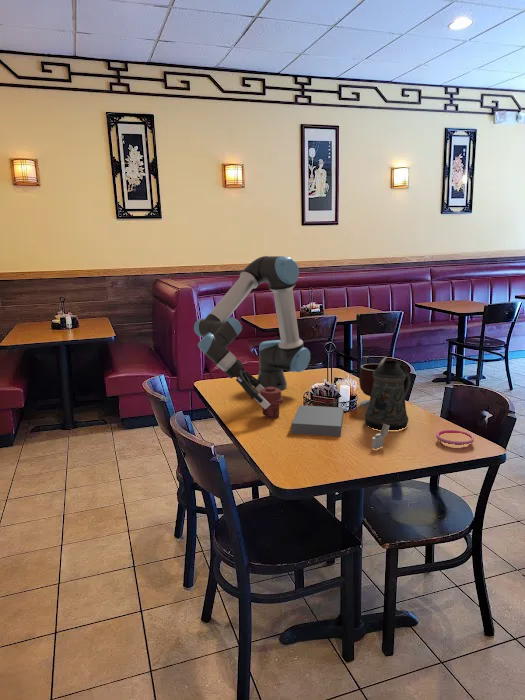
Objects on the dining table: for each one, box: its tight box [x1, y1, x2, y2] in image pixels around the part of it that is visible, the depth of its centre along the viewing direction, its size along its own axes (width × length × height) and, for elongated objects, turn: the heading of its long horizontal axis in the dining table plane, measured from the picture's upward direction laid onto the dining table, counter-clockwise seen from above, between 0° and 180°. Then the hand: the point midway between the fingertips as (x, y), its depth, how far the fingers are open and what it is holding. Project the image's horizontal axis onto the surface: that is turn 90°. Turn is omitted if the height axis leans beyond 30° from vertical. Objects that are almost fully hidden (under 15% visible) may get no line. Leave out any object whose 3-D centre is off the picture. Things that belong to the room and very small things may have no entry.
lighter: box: [371, 424, 390, 449], centre depth 176 cm, size 7×2×8 cm, turn 127°
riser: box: [291, 404, 345, 438], centre depth 199 cm, size 22×18×4 cm
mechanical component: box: [259, 387, 284, 420], centre depth 208 cm, size 12×10×10 cm
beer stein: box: [364, 360, 411, 430], centre depth 198 cm, size 16×19×25 cm
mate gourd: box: [358, 356, 387, 409], centre depth 222 cm, size 16×14×20 cm
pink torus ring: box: [435, 429, 475, 445], centre depth 180 cm, size 12×12×3 cm
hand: (268, 401), depth 208 cm, fingers open, 13 cm apart
